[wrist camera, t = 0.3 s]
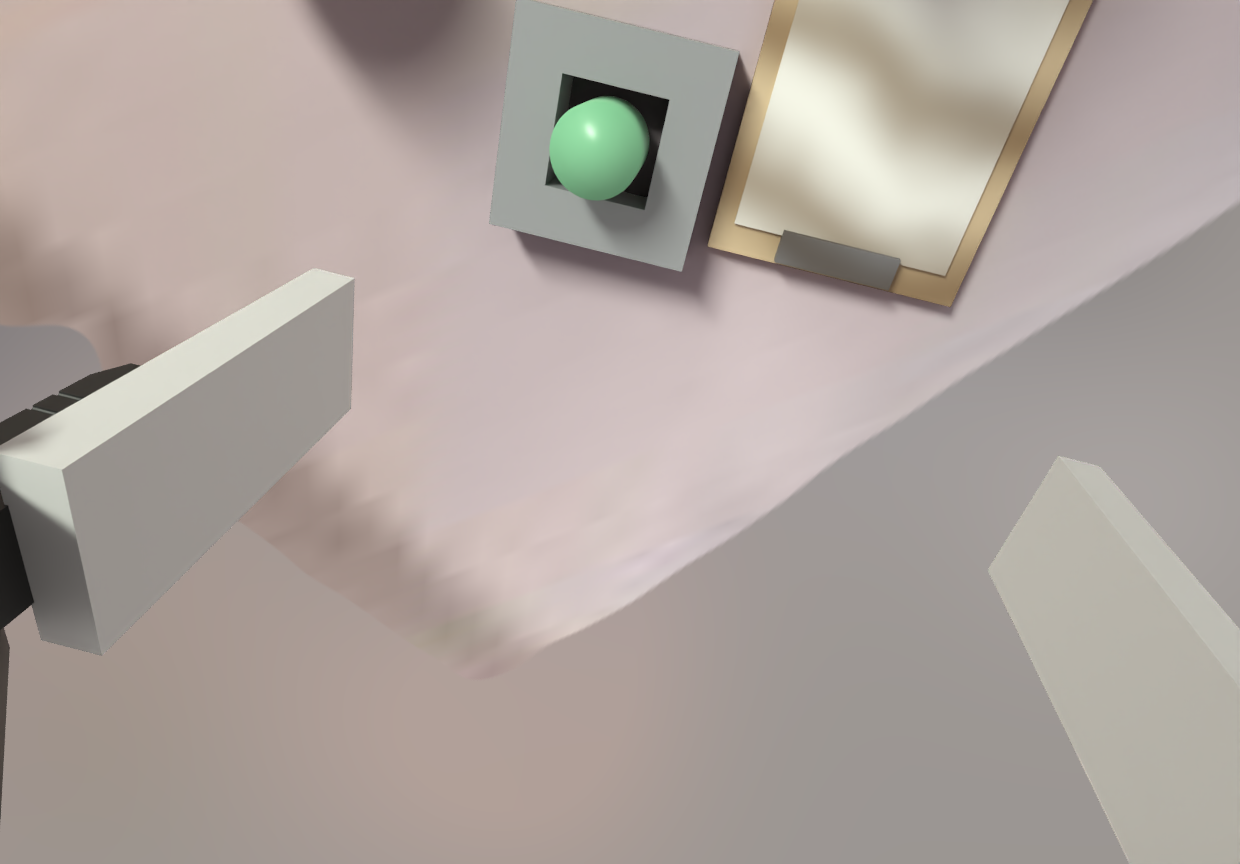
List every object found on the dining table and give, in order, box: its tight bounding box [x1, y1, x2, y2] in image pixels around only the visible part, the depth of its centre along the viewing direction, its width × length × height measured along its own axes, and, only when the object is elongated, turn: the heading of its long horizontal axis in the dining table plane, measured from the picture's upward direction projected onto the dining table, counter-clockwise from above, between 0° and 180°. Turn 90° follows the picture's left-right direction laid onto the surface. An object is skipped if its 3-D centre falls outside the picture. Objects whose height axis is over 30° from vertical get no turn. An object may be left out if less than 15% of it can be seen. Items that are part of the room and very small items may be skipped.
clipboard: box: [708, 0, 1093, 307], centre depth 33 cm, size 18×13×1 cm
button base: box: [489, 0, 739, 272], centre depth 35 cm, size 10×10×3 cm
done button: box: [549, 96, 649, 201], centre depth 33 cm, size 4×4×4 cm
